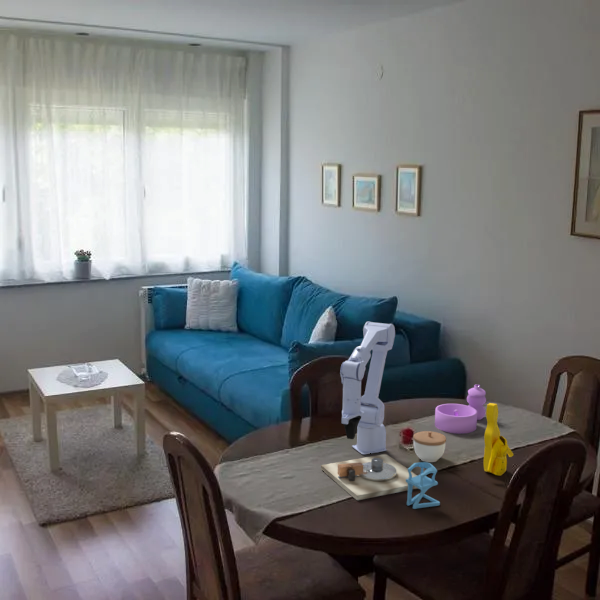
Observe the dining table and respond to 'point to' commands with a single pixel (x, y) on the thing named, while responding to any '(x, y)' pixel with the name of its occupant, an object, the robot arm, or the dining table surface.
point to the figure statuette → (495, 444)
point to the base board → (369, 488)
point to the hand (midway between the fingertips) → (350, 438)
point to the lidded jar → (429, 445)
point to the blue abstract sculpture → (421, 485)
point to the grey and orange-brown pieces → (369, 470)
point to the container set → (462, 413)
